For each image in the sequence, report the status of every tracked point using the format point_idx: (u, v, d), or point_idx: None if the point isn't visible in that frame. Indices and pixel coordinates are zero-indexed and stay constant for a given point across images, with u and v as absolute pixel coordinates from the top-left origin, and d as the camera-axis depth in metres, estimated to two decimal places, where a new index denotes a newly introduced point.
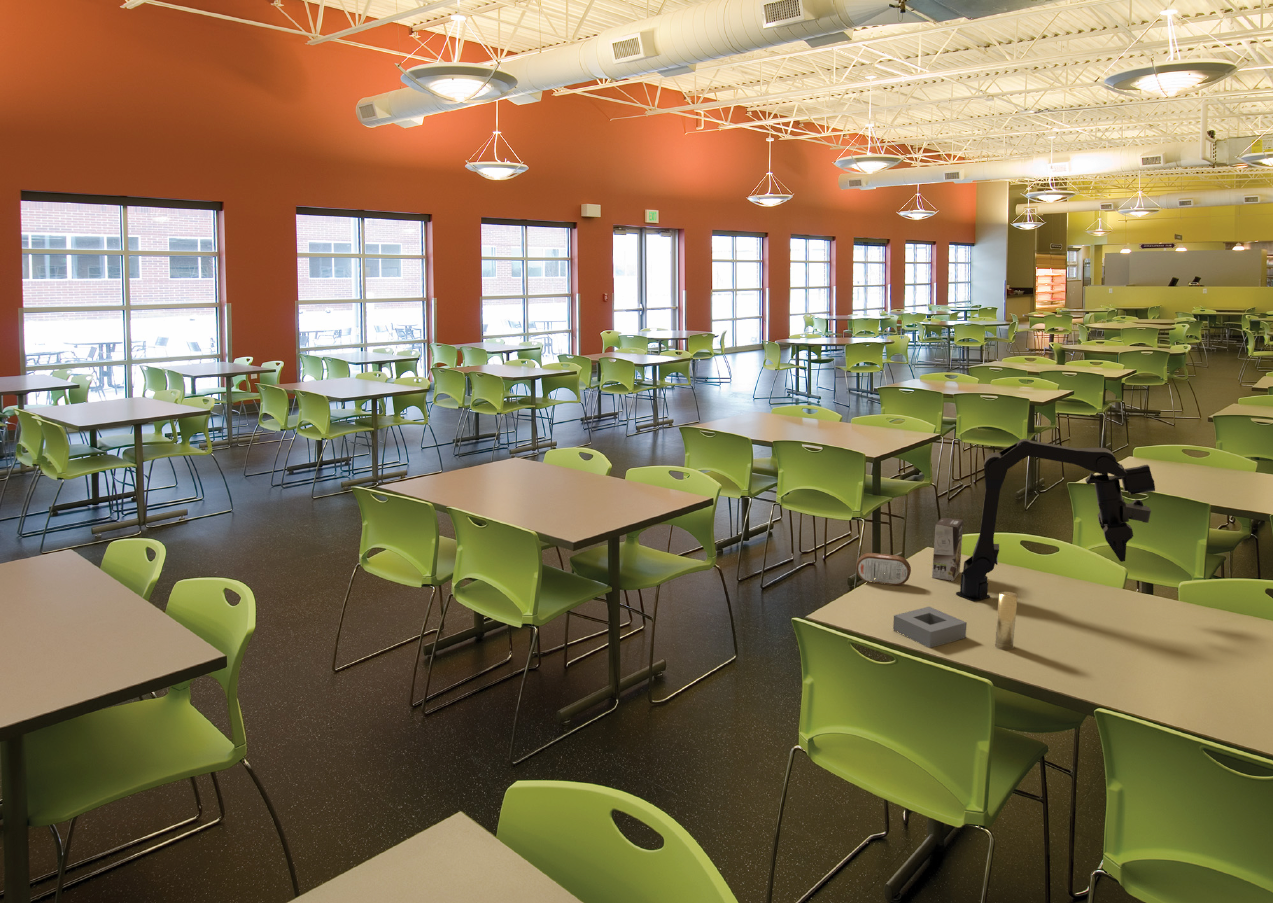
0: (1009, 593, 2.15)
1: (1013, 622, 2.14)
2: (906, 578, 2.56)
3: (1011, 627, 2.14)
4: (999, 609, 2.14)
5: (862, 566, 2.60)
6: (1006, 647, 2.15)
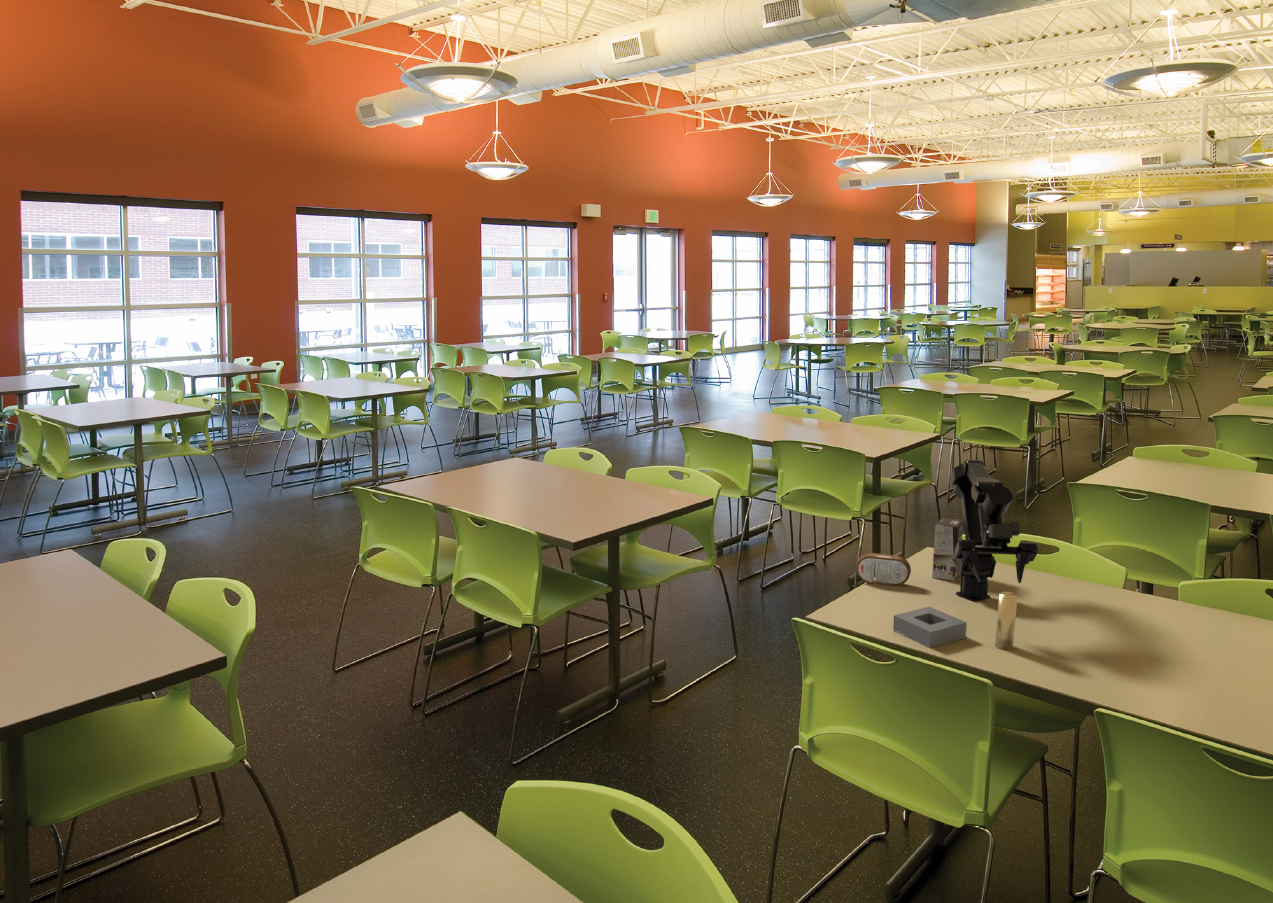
0: (1009, 593, 2.15)
1: (1013, 622, 2.14)
2: (906, 578, 2.56)
3: (1011, 627, 2.14)
4: (999, 609, 2.14)
5: (862, 566, 2.60)
6: (1006, 647, 2.15)
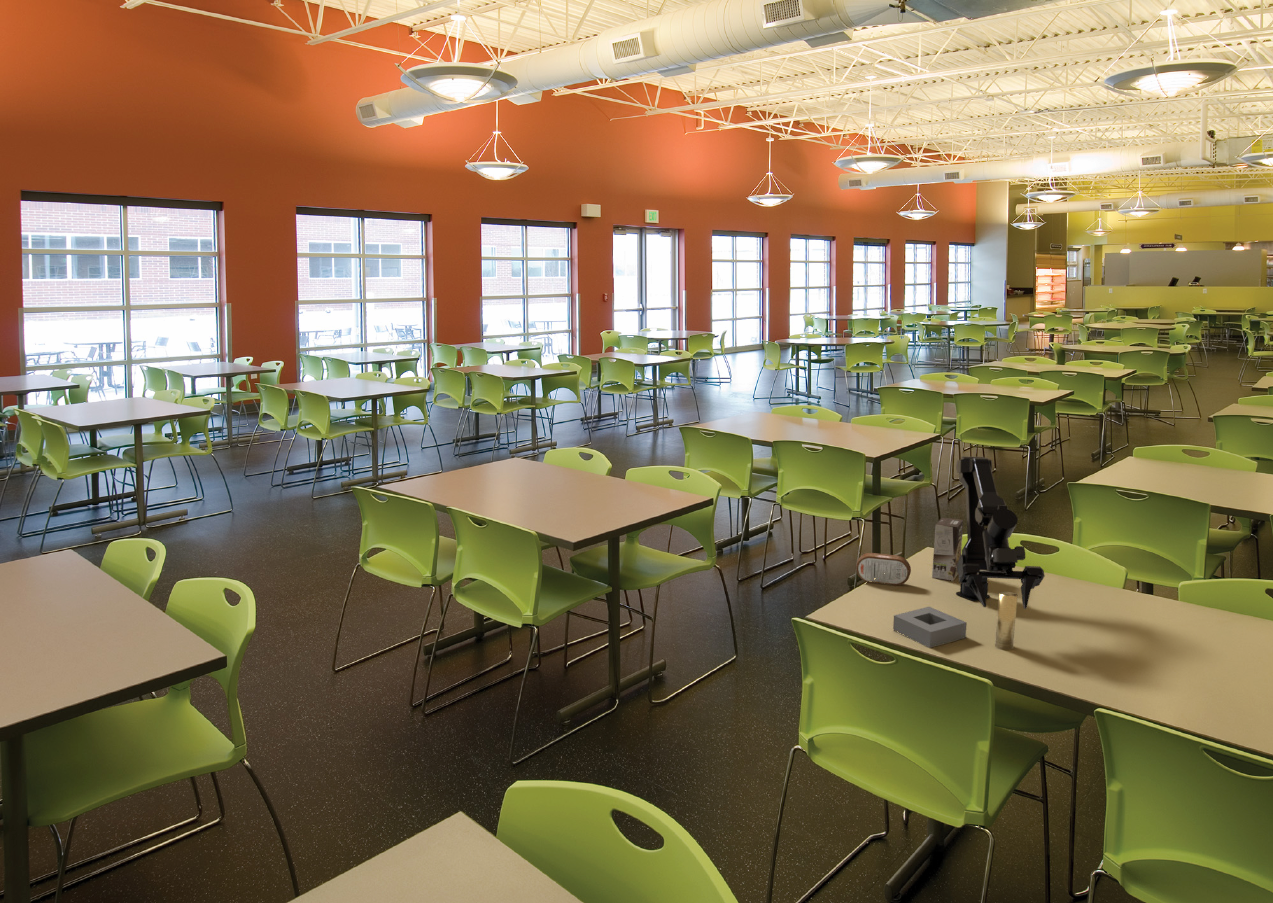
0: (1009, 593, 2.15)
1: (1013, 622, 2.14)
2: (906, 578, 2.56)
3: (1011, 627, 2.14)
4: (999, 609, 2.14)
5: (862, 566, 2.60)
6: (1006, 647, 2.15)
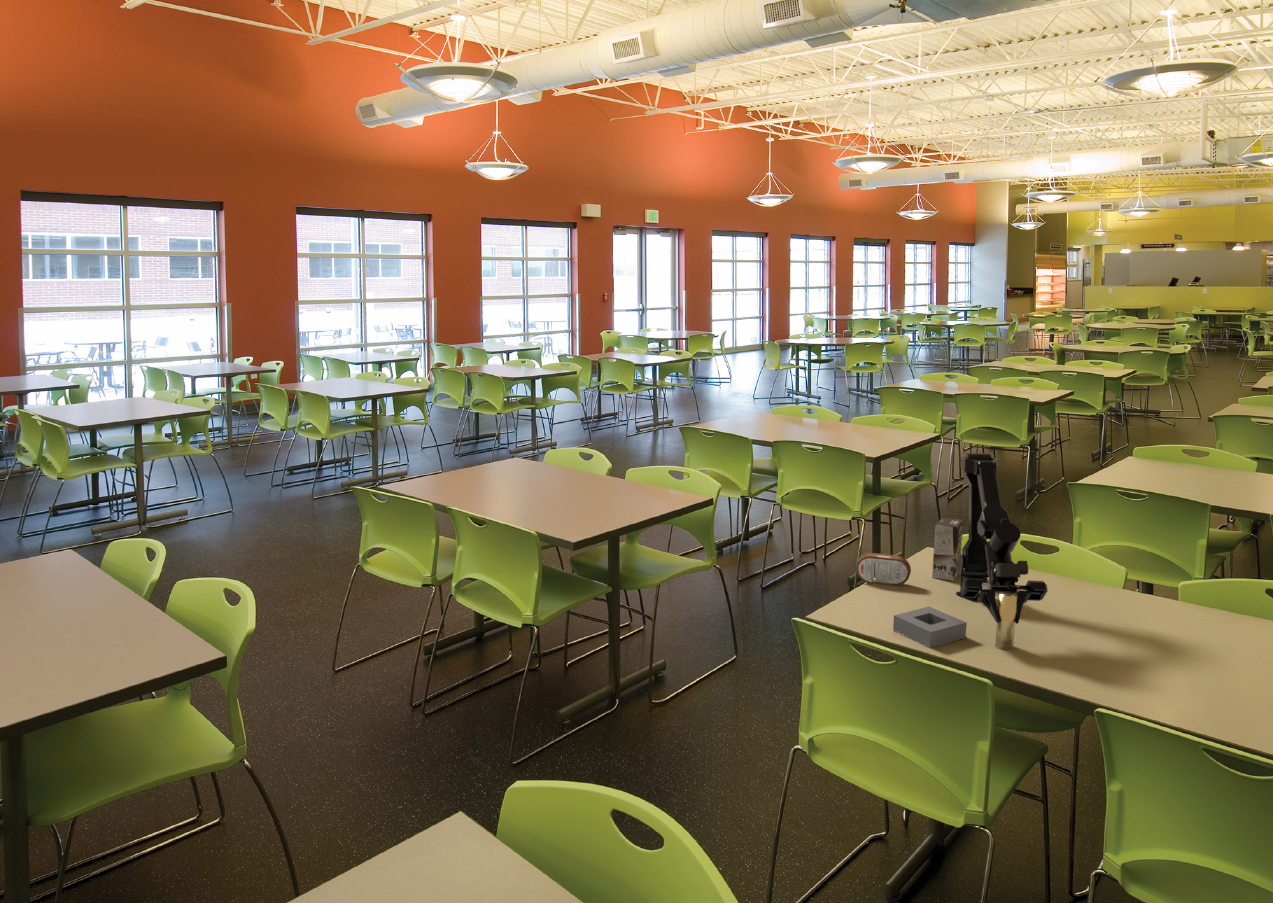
0: (1009, 593, 2.15)
1: (1013, 622, 2.14)
2: (906, 578, 2.56)
3: (1011, 627, 2.14)
4: (999, 609, 2.14)
5: (862, 566, 2.60)
6: (1006, 647, 2.15)
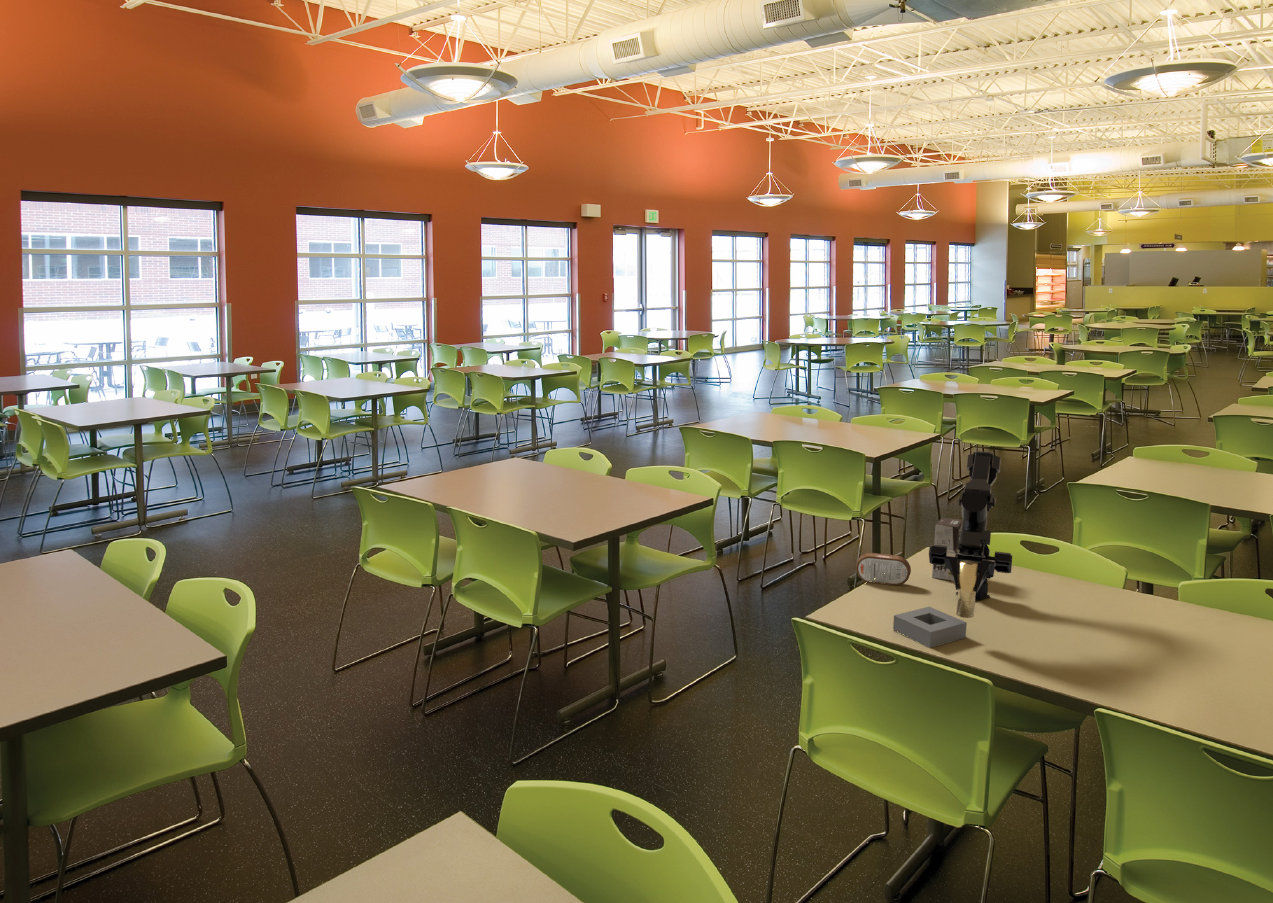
0: (971, 562, 2.16)
1: (972, 590, 2.15)
2: (906, 578, 2.56)
3: (969, 595, 2.15)
4: (959, 577, 2.16)
5: (862, 566, 2.60)
6: (964, 615, 2.16)
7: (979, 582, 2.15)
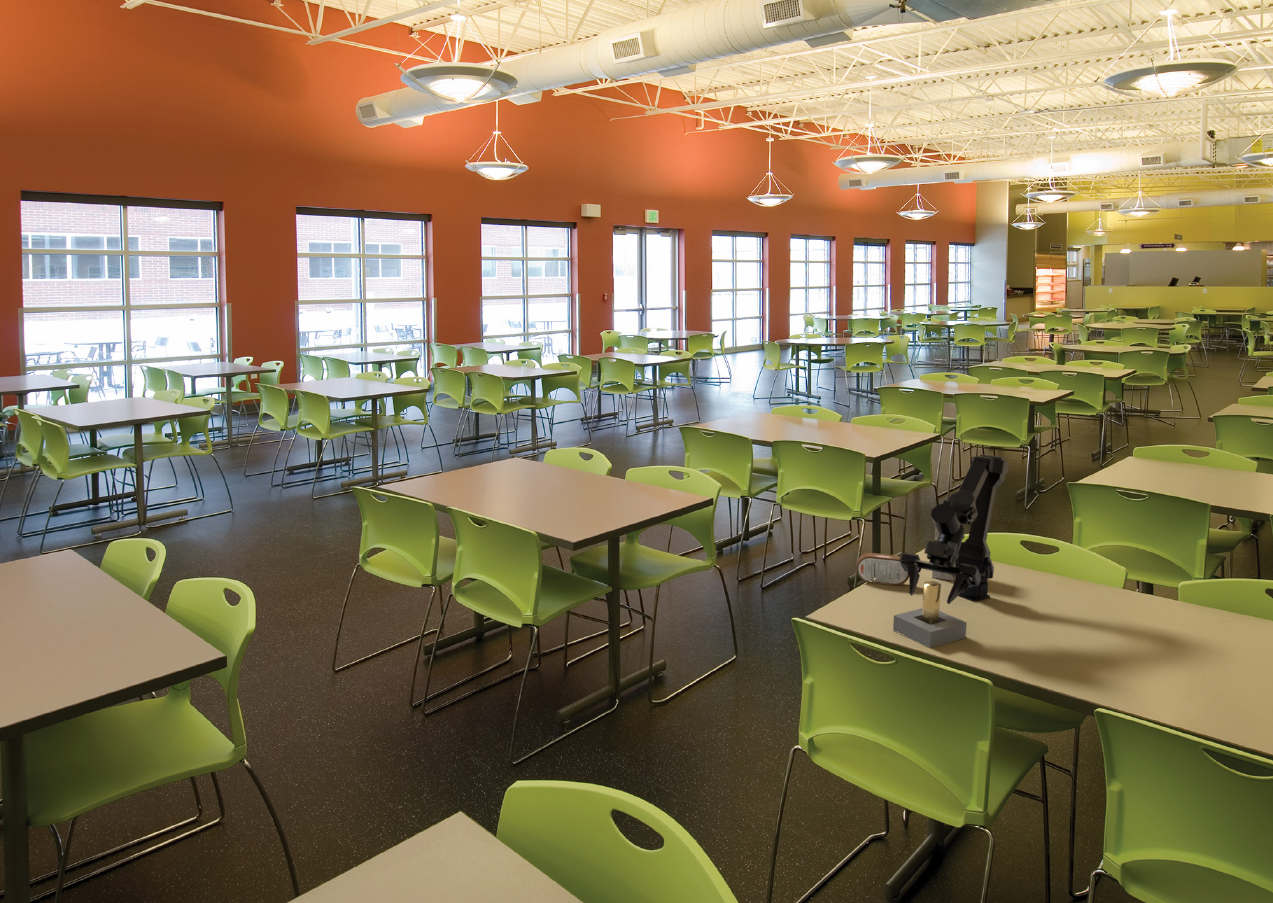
0: (935, 583, 2.22)
1: (933, 611, 2.21)
2: (906, 578, 2.56)
3: (931, 615, 2.21)
4: None
5: (862, 566, 2.60)
6: None
7: (952, 594, 2.18)
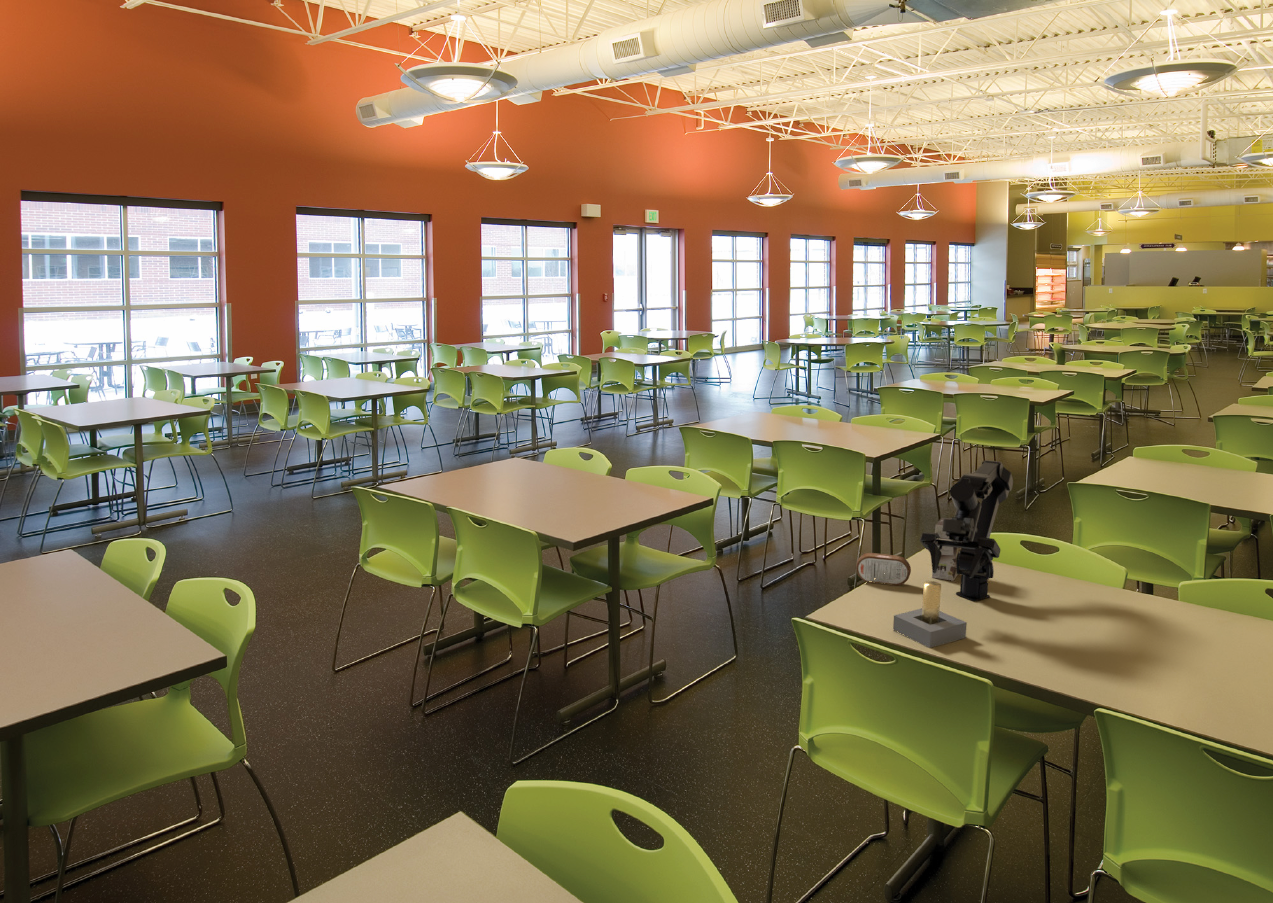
0: (935, 583, 2.22)
1: (933, 611, 2.21)
2: (906, 578, 2.56)
3: (931, 615, 2.21)
4: None
5: (862, 566, 2.60)
6: None
7: (973, 568, 2.24)
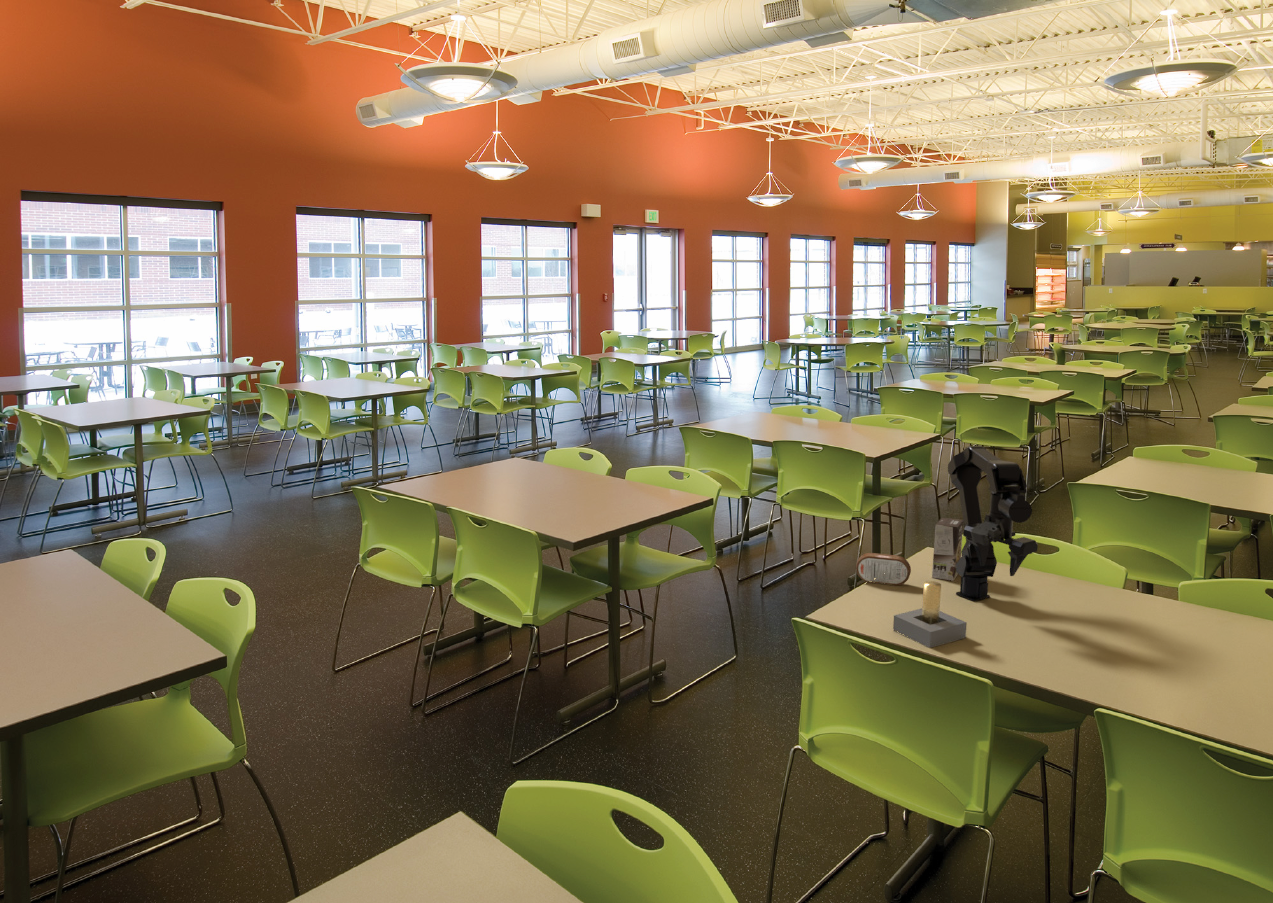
0: (935, 583, 2.22)
1: (933, 611, 2.21)
2: (906, 578, 2.56)
3: (931, 615, 2.21)
4: (923, 597, 2.23)
5: (862, 566, 2.60)
6: None
7: (1011, 569, 2.28)
